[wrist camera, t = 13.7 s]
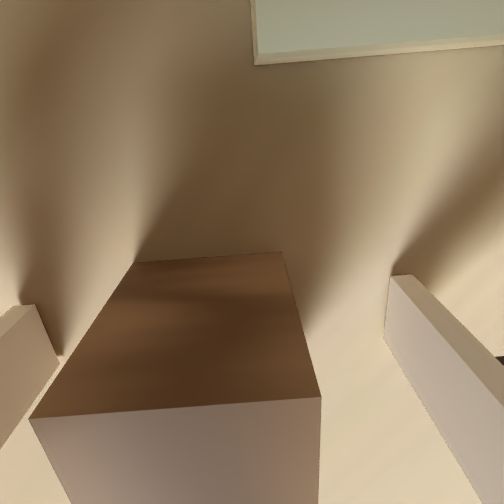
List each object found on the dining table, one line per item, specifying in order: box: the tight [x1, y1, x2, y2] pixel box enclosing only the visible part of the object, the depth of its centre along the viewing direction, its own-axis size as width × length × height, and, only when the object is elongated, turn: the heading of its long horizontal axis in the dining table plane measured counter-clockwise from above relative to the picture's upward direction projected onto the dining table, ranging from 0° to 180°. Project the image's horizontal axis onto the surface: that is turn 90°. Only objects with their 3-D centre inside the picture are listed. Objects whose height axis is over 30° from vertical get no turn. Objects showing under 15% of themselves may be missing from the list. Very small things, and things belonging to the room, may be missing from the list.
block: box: [28, 252, 321, 504], centre depth 9 cm, size 5×5×6 cm
